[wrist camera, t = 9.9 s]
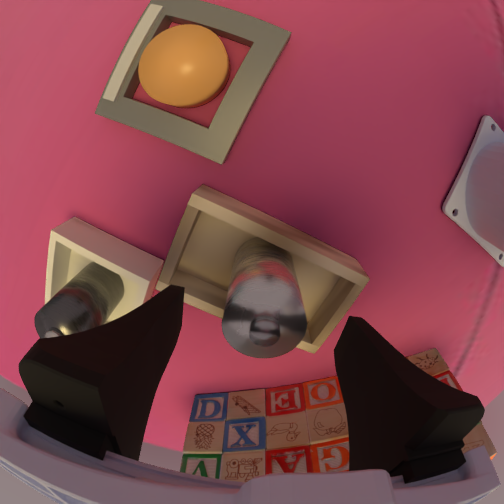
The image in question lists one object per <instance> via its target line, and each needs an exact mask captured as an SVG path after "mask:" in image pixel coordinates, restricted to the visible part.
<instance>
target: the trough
mask: <svg viewBox="0 0 504 504" xmlns="http://www.w3.org/2000/svg"><path fill="white" fill-rule="evenodd" d="M254 237H259V238H261V239H263V240H266V241H268V242H270V243H272V244H274V245H276V246H278V247H280V248H282V249H285V250H287V251H289V252H290V253H291V255H292V259H293V263H294V267H295V271H296V275H297V279H298V283H299V287H300V292H301V296H302V300H303V304H304V309H305V313H306V317H307V330H306V333H305V336H304V338H303V339H302V341H301V342H300V343H299V344H298V345H297V346H296V347H297V348H300V349H302V350H305V351H308V352H311V353H314V354H315V352H316V351H317V350H318V349H319V347H320V346H321V345H322V344H323V342H324V341H325V340H326V339H327V337H328V336H329V335H330V334H331V332H332V331H333V330H334V328H335V327H336V326H337V324H338V323H339V322H340V320H341V319H342V318H343V316H344V315H345V314H346V312H347V311H348V310H349V308H350V307H351V305H352V304H353V303H354V301H355V300H356V298H357V297H358V296H359V294H360V293H361V291H362V290H363V288H364V287H365V286H366V284H367V283H368V281H369V280H370V278H369V277H368V275H367V274H366V272H365V271H364V269H363V268H362V267H361V265H360V264H359V262H358V261H357V259H355V258H353V257H351V256H349V255H347V254H345V253H343V252H341V251H339V250H338V249H336V248H334V247H332V246H330V245H328V244H326V243H324V242H322V241H320V240H318V239H316V238H314V237H312V236H310V235H308V234H306V233H304V232H302V231H300V230H298V229H296V228H294V227H292V226H290V225H288V224H286V223H284V222H282V221H280V220H278V219H276V218H274V217H272V216H270V215H268V214H266V213H263V212H261V211H259V210H257V209H255V208H253V207H251V206H249V205H247V204H245V203H242V202H240V201H238V200H236V199H234V198H232V197H230V196H228V195H225V194H223V193H221V192H219V191H217V190H215V189H212V188H210V187H208V186H206V185H204V184H202V185H201V186H200V187H199V188H198V189H197V190H195V191H194V192H193V193H192V195H191V198H190V200H189V202H188V205H187V207H186V210H185V212H184V214H183V217H182V219H181V222H180V224H179V227H178V229H177V232H176V234H175V237H174V239H173V242H172V245H171V247H170V250H169V252H168V255H167V258H166V260H165V263H164V266H163V268H162V271H161V274H160V277H159V280H158V282H157V285H156V288H155V289H156V290H159V291H162V290H163V289H165V288H166V287H168V286H169V285H171V284H172V285H176V286H181V287H185V291H184V302H185V303H187V304H189V305H192V306H194V307H196V308H198V309H201V310H203V311H205V312H208V313H210V314H212V315H215V316H217V317H219V318H222V319H223V313H224V308H225V303H226V298H227V293H228V287H229V282H230V277H231V272H232V267H233V262H234V257H235V254H236V252H237V250H238V248H239V247H240V246H241V245H242V244H243V243H244V242H246V241H247V240H249V239H251V238H254Z"/></svg>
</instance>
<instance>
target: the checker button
mask: <svg viewBox="0 0 504 504" xmlns="http://www.w3.org/2000/svg"><path fill="white" fill-rule="evenodd" d="M138 73H139V79H140V82H141V85H142V87H143V88H144V90H145V91H146V92H147V94H148V95H150V96H151V97H152V98H153V99H155V100H157V101H159V102H162V103H165V104H168V105H172V106H175V107H179V108H194V107H198V106H201V105H204V104H206V103H208V102H210V101H211V100H213V99H214V98H215V97H217V96H218V95H219V94H220V93H221V91H222V90H223V89H224V87H225V86H226V84H227V81H228V79H229V76H230V60H229V57H228V55H227V52H226V50H225V47H224V45H223V43H222V41H221V40H220V38H219V37H218V36H217V35H216V34H215V33H214V32H212V31H211V30H209V29H207V28H205V27H202V26H199V25H192V24H184V25H178V26H174V27H171V28H169V29H166V30H165V31H163V32H161V33H160V34H158V35H157V36H156V37H154V38H153V39H152V40H151V41H150V42H149V44H148V45H147V46H146V48H145V49H144V51H143V53H142V55H141V58H140V61H139V67H138Z"/></svg>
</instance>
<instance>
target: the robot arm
mask: <svg viewBox="0 0 504 504" xmlns="http://www.w3.org/2000/svg"><path fill="white" fill-rule="evenodd" d="M491 125H492V129H491ZM454 209H455V212H454V214H452V212H453V210H454ZM442 210H443V212H444V214H445V215H447V216H448V217H449V218H450V219H451V220H453V221H454V222H455V223H456V224H457V225H458V226H460V227H461V228H462V229H463V230H464V231H465V232H466V233H467V234H469V235H470V236H471V237H472V238H473V239H474V240H475V241H476V242H477V243H478V244H479V245H480V246H481V247H483V248H484V249H485V250H486V251H487V252H488V253H489V254H490V255H491V256H492V257H493V258H494V259H495V260H496V261H497V262H498V263H499V264H500V265H501V266H502V267H504V132H503V131H502V130H501V129H500V127H499V126H498V125H497V124H496V122H495V121H494V120H493V119H492V118H491V117H490V116H486V115H485V116H483V118H482V120H481V123H480V125H479V128H478V130H477V133H476V135H475V138H474V140H473V143H472V145H471V147H470V150H469V152H468V154H467V157H466V159H465V161H464V163H463V165H462V168H461V170H460V172H459V174H458V176H457V178H456V180H455V182H454V184H453V186H452V188H451V190H450V192H449V194H448V196H447V198H446V200H445V202H444V204H443V207H442ZM184 291H185V287H181V286H176V285H172V284H171V285H169V286H168V287H166V288H165V289H163V290H162V291H161V292H159V293H158V294H157V295H155V296H154V297H152V298H151V299H149V300H148V301H146V302H145V303H143V304H142V305H140V306H139V307H137V308H135V309H134V310H132V311H130V312H129V313H127V314H125V315H123V316H121V317H119V318H117V319H115V320H113V321H110V322H108V323H106V324H103V325H100V326H97V327H94V328H91V329H89V330H85V331H82V332H78V333H73V334H69V335H64V336H57V337H49V338H40V339H39V340H38V341H37V342H36V343H35V344H34V345H33V346H32V348H31V349H30V350H29V351H28V352H27V354H26V355H25V356H24V357H23V359H22V360H21V361H20V363H19V373H20V376H21V378H22V381H23V383H24V385H25V387H26V389H27V391H28V393H29V395H30V396H31V399H32V400H33V402H32V403H31V405H30V406H29V407H28V406H27V405H26V404H25V403H24V402H23V401H21V400H20V399H18V398H17V397H15V396H13V395H12V394H10V393H9V392H7V391H5V390H4V389H1V388H0V466H1V467H2V468H3V469H5V470H6V471H8V472H9V473H10V474H12V475H13V476H15V477H16V478H18V479H19V480H21V481H22V482H24V483H25V484H27V485H28V486H30V487H31V488H33V489H35V490H37V491H38V492H40V493H41V494H43V495H44V496H46V497H48V498H50V499H51V500H53V501H55V502H57V503H59V504H475V503H476V502H478V501H479V500H481V499H483V498H484V497H485V496H487V495H488V494H490V493H491V492H492V491H494V490H495V489H496V488H498V487H499V486H500V485H501V483H500V481H499V478H498V476H497V473H496V471H495V468H494V466H493V464H492V461H491V459H490V457H489V455H488V452H487V450H486V448H485V446H484V445H482V446H479V447H477V448H474V449H471V450H468V451H467V452H465V453H463V452H462V450H461V448H463V447H464V446H465V444H464V441H463V438H464V437H465V436H466V435H467V434H468V433H469V432H470V431H471V430H472V429H473V428H474V427H475V426H476V425H477V424H478V423H479V422H480V420H481V419H482V417H483V415H484V411H485V410H484V407H483V405H482V403H481V401H480V400H479V398H478V397H477V396H474V395H472V394H469V393H466V392H463V391H461V390H458V389H456V388H454V387H451V386H449V385H447V384H445V383H443V382H441V381H439V380H438V379H436V378H434V377H433V376H431V375H429V374H428V373H426V372H425V371H423V370H422V369H420V368H419V367H417V366H416V365H415V364H413V363H412V362H411V361H409V360H408V359H407V358H406V357H404V356H403V355H402V354H401V353H400V352H399V351H397V350H396V349H395V348H394V347H393V346H392V345H391V344H390V343H389V342H388V341H387V340H386V339H384V338H383V337H382V336H381V335H380V334H379V333H378V332H377V331H376V330H375V329H374V328H373V327H372V326H371V325H370V324H369V323H367V322H366V321H365V320H364V319H363V318H361V317H353V316H349V318H348V320H347V322H346V325H345V327H344V329H343V332H342V334H341V336H340V338H339V340H338V343H337V345H336V347H335V349H334V357H335V367H336V372H337V377H338V381H339V385H340V389H341V393H342V397H343V401H344V405H345V409H346V415H347V423H348V435H349V471H345V472H326V473H272V474H267V475H262V476H257V477H254V478H252V479H251V480H249V481H248V482H237V481H229V480H222V479H215V478H209V477H203V476H197V475H192V474H187V473H182V472H178V471H173V470H169V469H165V468H161V467H157V466H154V465H150V464H146V463H143V462H139V461H138V460H139V455H140V451H141V445H142V441H143V437H144V433H145V429H146V425H147V421H148V417H149V414H150V410H151V406H152V403H153V399H154V396H155V393H156V390H157V387H158V384H159V382H160V380H161V377H162V375H163V373H164V371H165V368H166V366H167V364H168V362H169V359H170V357H171V355H172V353H173V350H174V348H175V346H176V343H177V340H178V337H179V333H180V330H181V326H182V315H183V303H184Z"/></svg>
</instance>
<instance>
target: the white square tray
mask: <svg viewBox="0 0 504 504" xmlns="http://www.w3.org/2000/svg"><path fill="white" fill-rule="evenodd" d="M91 262H96V263H98V264H99V265H101V266H103V267H105V268H107V269H109V270H111V271H113V272H115V273H117V274H119V275H120V277H121V279H122V281H123V284H124V296H123V298H122V300H121V301H120V302H119V304H118V305H117V307H116V308H115V309H114V311H113V312H112V313H111V315H110V316H109V318H108V319H107V320H106V322H105V323H104V324H106V323H108V322H110V321H113V320H115V319H117V318H119V317H121V316H123V315H125V314H127V313H129V312H130V311H132V310H134V309H135V308H137V307H139V306H140V305H142V304H143V303H145V302H146V301H148V300H149V299H151V297H152V294H153V291H154V288H155V285H156V282H157V279H158V276H159V274H160V271H161V268H162V265H163V263H164V260H162V259H160V258H157V257H155V256H153V255H151V254H149V253H147V252H145V251H143V250H141V249H139V248H137V247H134V246H132V245H130V244H128V243H126V242H124V241H122V240H120V239H118V238H116V237H114V236H112V235H110V234H108V233H106V232H104V231H102V230H100V229H98V228H96V227H94V226H92V225H90V224H88V223H86V222H84V221H83V220H81V219H79V218H77V217H73V218H71V219H69V220H68V221H66V222H64V223H62V224H61V225H59V226H57V227H55V228H54V229H52V230H51V235H50V242H49V251H48V261H47V273H46V289H45V304H46V303H47V302H48V301H49V300H50V299H51V298H52V297H53V296H54V295H55V294H56V293H57V292H58V291H60V290H61V289H62V288H63V287H64V286H65V285H66V284H67V283H68V282H69V281H70V280H71V279H72V278H73V277H74V276H76V275H77V274H78V273H79V272H80V271H81V270H82V269H83V268H84V267H86V266H87V265H88V264H89V263H91Z"/></svg>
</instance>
